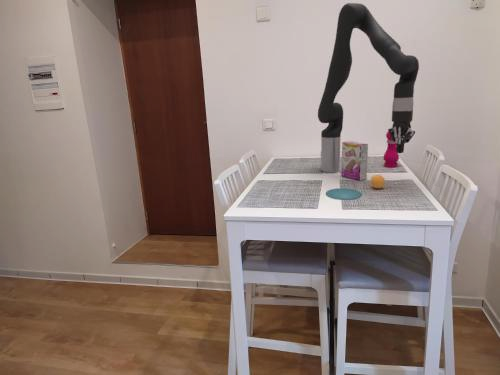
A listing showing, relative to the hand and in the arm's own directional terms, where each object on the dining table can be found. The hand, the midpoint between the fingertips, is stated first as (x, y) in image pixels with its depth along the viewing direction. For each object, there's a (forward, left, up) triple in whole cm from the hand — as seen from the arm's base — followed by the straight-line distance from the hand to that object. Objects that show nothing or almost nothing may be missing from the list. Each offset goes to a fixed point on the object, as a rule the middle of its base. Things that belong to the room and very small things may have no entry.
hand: (399, 152), depth 137 cm
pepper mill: (-27, +19, -14) cm, 36 cm away
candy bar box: (-18, -9, -14) cm, 25 cm away
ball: (0, -10, -11) cm, 15 cm away
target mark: (0, -26, -14) cm, 29 cm away
